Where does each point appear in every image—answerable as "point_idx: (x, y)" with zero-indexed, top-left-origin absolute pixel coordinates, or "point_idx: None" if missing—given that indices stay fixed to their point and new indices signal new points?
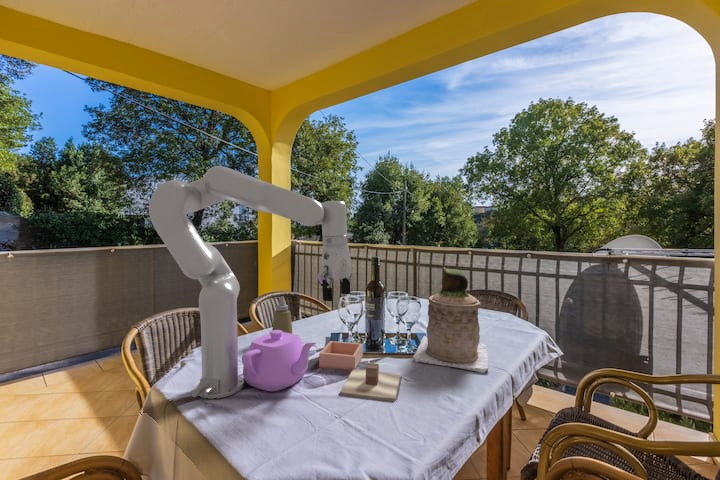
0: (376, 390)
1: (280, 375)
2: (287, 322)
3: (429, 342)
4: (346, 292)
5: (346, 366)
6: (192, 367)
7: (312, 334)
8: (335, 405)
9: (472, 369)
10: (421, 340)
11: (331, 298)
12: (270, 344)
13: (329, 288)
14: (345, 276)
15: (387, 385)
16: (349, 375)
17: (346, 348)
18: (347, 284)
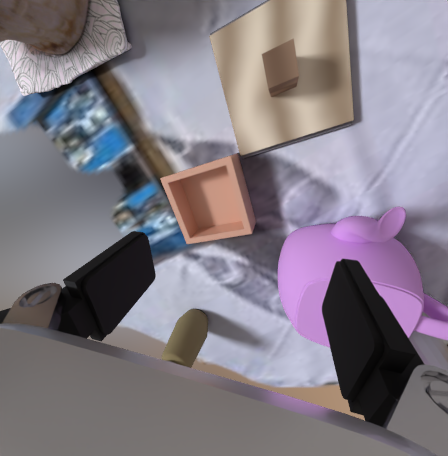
0: (316, 40)
1: (399, 245)
2: (185, 337)
3: (52, 13)
4: (144, 253)
5: (241, 172)
6: (334, 372)
7: (151, 291)
8: (395, 106)
9: None
10: (42, 90)
11: (364, 270)
12: (400, 316)
13: (401, 360)
14: (99, 372)
15: (280, 29)
16: (261, 152)
17: (184, 207)
18: (101, 280)
